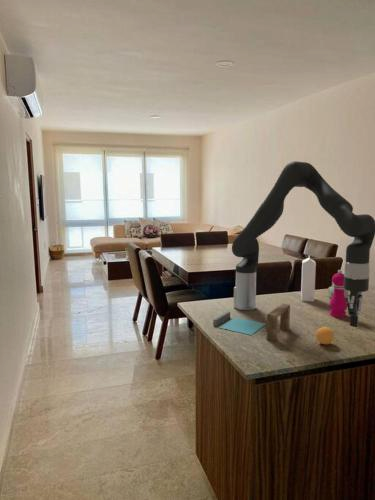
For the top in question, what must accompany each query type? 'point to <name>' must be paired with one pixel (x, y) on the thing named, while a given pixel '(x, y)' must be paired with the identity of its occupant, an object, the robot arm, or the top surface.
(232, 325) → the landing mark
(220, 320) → the stopper
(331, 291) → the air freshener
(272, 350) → the top surface
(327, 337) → the ball
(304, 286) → the milk
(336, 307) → the pepper mill
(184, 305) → the top surface
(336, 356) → the top surface
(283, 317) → the bridge
